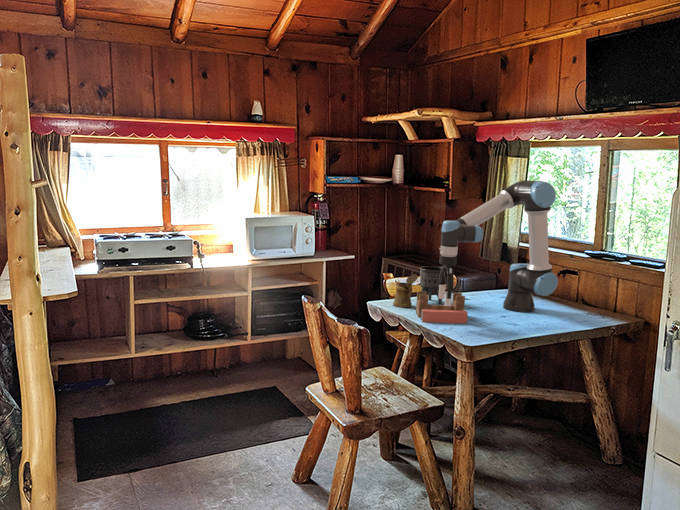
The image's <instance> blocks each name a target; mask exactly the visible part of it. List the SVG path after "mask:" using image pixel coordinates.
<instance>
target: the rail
mask: <svg viewBox="0 0 680 510" xmlns="http://www.w3.org/2000/svg"><path fill="white" fill-rule="evenodd" d="M421 320H422V321H421ZM420 321H421V322H422V323H440V324H443V323H445V324H467V323H468V311H466V310H464V311H460V310H427V309H422V311H421V317H420Z"/></svg>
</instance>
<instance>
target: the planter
mask: <svg viewBox="0 0 680 510" xmlns="http://www.w3.org/2000/svg"><path fill="white" fill-rule="evenodd" d="M419 269H420V271H419V286H420V288H421V291H420V292H426V295H428V301H432V295H433V293H434V294H435V296H436V297H437V299H438V296H439V285H440V284H439V276H440V271H441V266H432V265H431V266H429V265H428V266H425V265H424V266H421V267H420V268H419ZM437 301H438V303H437V304H438V305H443V299H438V300H437Z"/></svg>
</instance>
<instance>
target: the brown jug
mask: <svg viewBox="0 0 680 510" xmlns="http://www.w3.org/2000/svg"><path fill="white" fill-rule="evenodd" d="M418 278H419V275H418V274H417V273H413V274H411V275H409V276H408V277H407V278H406V281H405V282H397V285H396V287H395V289H396V290H395V295H394V298H393V299H394V300H393V302H392V306H393V307H396V308H402V309H405V308H406V309H407V308H411V307H412V305H413V304H412V300H411V299H412V298H411V297H412V294H413V284H414V283H415V282H416V281H417V280H418Z"/></svg>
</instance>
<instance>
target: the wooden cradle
mask: <svg viewBox="0 0 680 510" xmlns="http://www.w3.org/2000/svg"><path fill="white" fill-rule="evenodd" d="M428 298H429V294H427V295H426V292H421V291H418V290H417V291H416V302H415V303H416V305H415V307H416V308H415V314H416V316H417V317H418V318H421V311H422V309H427V310H460V311H465V306H466V305H465V301H466V295H463V294H462V292H452V299H451V306H445V304H429V300H428Z"/></svg>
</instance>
